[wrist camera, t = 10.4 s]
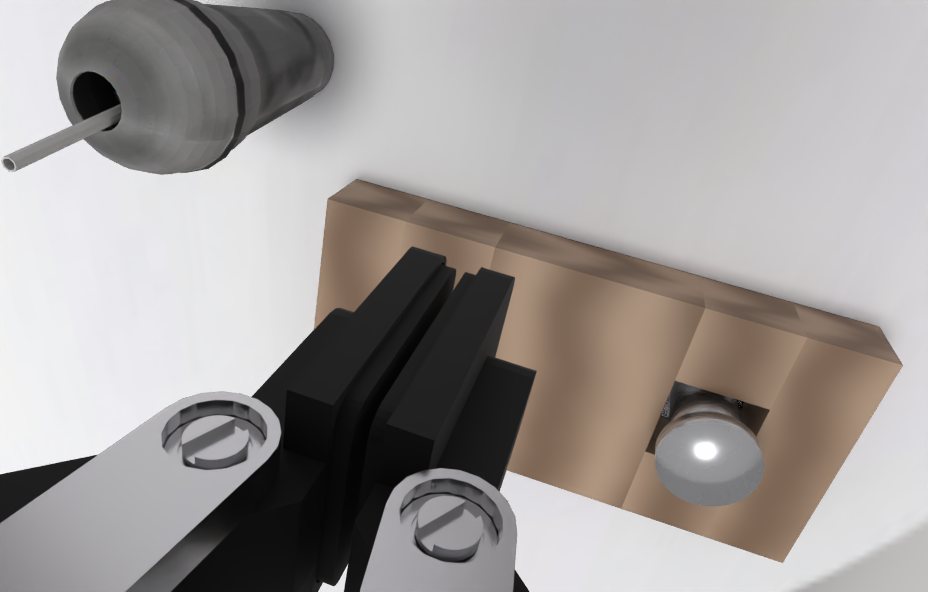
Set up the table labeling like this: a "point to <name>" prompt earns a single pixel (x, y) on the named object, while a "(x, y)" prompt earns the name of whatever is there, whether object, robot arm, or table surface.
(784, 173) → the table surface
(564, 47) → the table surface
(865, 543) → the table surface
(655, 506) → the button board
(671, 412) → the grey plunger
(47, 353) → the table surface
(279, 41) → the beverage cup
